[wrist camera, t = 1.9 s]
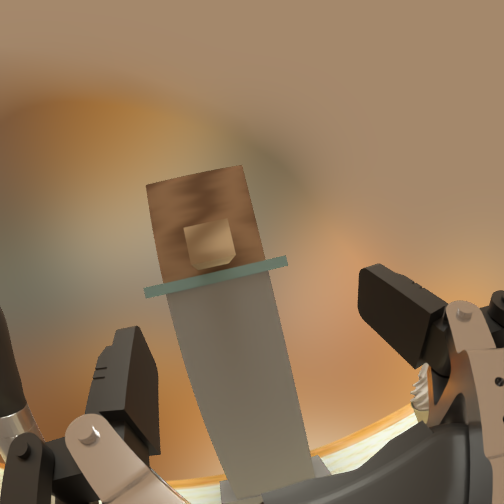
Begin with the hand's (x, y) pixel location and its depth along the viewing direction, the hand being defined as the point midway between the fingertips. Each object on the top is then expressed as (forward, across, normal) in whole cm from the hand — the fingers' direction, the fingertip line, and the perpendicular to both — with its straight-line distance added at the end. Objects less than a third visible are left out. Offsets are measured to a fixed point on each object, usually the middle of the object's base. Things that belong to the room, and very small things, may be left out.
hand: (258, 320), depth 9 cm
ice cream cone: (0, -20, +31) cm, 37 cm away
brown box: (+15, 0, +5) cm, 16 cm away
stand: (+5, 0, +33) cm, 34 cm away
